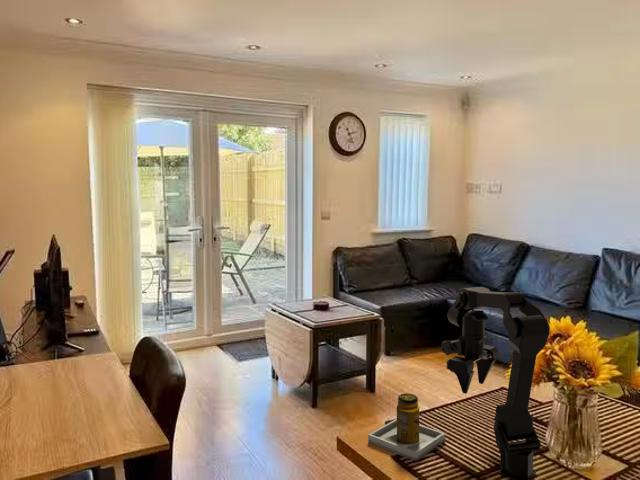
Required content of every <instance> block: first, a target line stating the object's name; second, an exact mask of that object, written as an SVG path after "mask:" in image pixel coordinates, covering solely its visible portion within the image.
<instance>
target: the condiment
mask: <svg viewBox="0 0 640 480" xmlns="http://www.w3.org/2000/svg"><path fill="white" fill-rule="evenodd" d="M397 400H398V401H397V406H396V419H397V434H396V435H392V436H390V437H386V438H385V439H386V440H388V441H389V442H392V443H395V444H397V445H400V446H402V447H405V448H408V447H410V446H413V445H416V444H418V443H421V442H424V441H426V440H425V439H423V438H421V437H419V425H420V406H419V399H418V396H417V395H416V394H413V393H407V392H406V393H401V394H399V395H398V396H397Z"/></svg>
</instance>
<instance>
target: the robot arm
mask: <svg viewBox="0 0 640 480" xmlns="http://www.w3.org/2000/svg"><path fill="white" fill-rule="evenodd" d="M459 291H460V292H459V293H458V294H457V297H456V300H455V301H453V305H452V306H451V307H449V308H448V310H447V314H446V316H447V319H448V321H449V322H450V323H451V324H452V325H455V326H457V327H459V328H460V329H462V335H461V336H459V337H458V339H455V340H443V341H442V342H441V348H440V350H441V352H442V353H444V354H445V356H450V355H452V354H457V355H455V356H453V357H451V358H448V360H447V361H446V370H449V371H450V372H452V373H454V374H455V375H456V378H457V380H458V382H459V386H460V389H461V392H462V394H465V395H467V393H468V392H469V389H470V387H471V383H472V379H473V377H474V373H475V371H474V368H475V364H476V369H477V378H478V379H477V380H478V384H480V385H483V384H484V383H485V381H486V379H487V377H488V375H489V373H490V371H491V370H492V367H493V366H494V364H495V362H496V361H497V358H499V350H498V348H497V347H496V346H493V345H488V344H485V342H487V341H488V336H486V335H485V321H488V320H489V317H488V315H487V314H486V313H485V312H484V310H483V309H486V308H493V309H494V308H495V309H501V310H502V312H503V313H502V324H503V326H504V328H505V330H506V331H507V333H508V335H507V336H508V337H507V338H508V341H509V343H510V345H511V347H512V349H513V352H512V360H511V367H510V374H509V380H508V387H507V394H506V400H505V403H504V404H498V405H497V406H496V407H495V416H494V417H493V420H494V424H493V430H494V431H493V433H494V437H495V443H496V447H497V448H498V452H499V453H500V465H499V466H500V468H501V469H500V470H499V471H498V474H499V475H500V476H501V475H502V476H503V477H506V478H510V479H512V480H530V479H532V478H533V476H535V475H536V473H537V470H535V469H534V452H540V451H541V447H542V443H541V441H540V438H539V437H538V434H537V431H536V429H535V427H534V419H533V416H532V415H531V413H530V411H529V404H530V398H531V393H532V386H533V379H534V375H535V367H536V362H537V357H538V354H539V353H540V352H541V351H542V350H543V349H544V348H545V347H546V345H547V343H548V339H549V337H550V331H551V327H550V324H549V321H548V320H547V318H546V317H545V316H544V314H543V312H542V311H541V310H540V308H539V307H537V306H536V305H534V304H533V303H532V302H530V301H528V300H527V298H526V297H525V295H524V293H522V292H519V291H514V292H505V291H504V292H503V291H502V292H501V291H490V289H489V288H487V287H485V286H477V287H476V286H474V287H463V288H460V290H459ZM481 309H482V310H481ZM511 310H519V312H520V313H522V314H524V316H523V315H522V316H514V317H513V316H512V314H511ZM461 356H462V357H461Z"/></svg>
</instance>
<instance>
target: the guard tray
mask: <svg viewBox="0 0 640 480" xmlns="http://www.w3.org/2000/svg"><path fill="white" fill-rule="evenodd" d="M396 434H397V418H395V419H393V420H392V421H389V422H388V423H386V424H384V425H383V426H381V427H379V428H377V429H376V430H374V431H372V432H370V433H369V434H368V435H367V439H368V440H367V441H368V443H370V444H372V445H374V446H377V447H379V448H381V449H384V450H385V451H386V450H387V451H389V452H391V453H394V454H396V455H399V456H401V457H404V458H406V459H409V460H410V461H411V460H412V461H414V462H417V461H418V460H420V459H422V458H423V457H424V456H425V455H427V454H428V453H430V452H431V451H433V450H434V449H436V448H437V447H439V446H440V445H442V444H443V443H445V442H446V433H445V432H442V431H440V430H436V429H434V428H430V427H427V426H425V425H422V424H419V437H421V438H423V439H425V440H426V441H424V442H421V443H418V444H416V445H413V446H410V447H408V448H405V447H402V446H400V445H397V444H395V443H392V442H389V441H388V440H386V439H385V438H386V437H390V436H392V435H396ZM444 441H445V442H444ZM441 443H442V444H441ZM439 444H440V445H439ZM438 445H439V446H438ZM435 447H436V448H435Z"/></svg>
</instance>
